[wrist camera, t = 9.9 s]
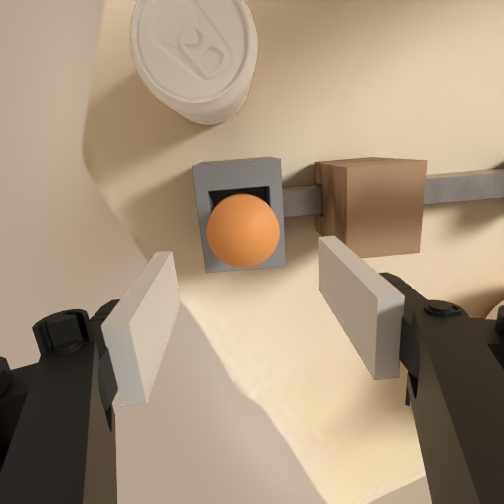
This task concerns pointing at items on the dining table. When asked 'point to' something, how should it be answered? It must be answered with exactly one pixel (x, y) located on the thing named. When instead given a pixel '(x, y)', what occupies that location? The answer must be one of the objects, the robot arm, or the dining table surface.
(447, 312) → the robot arm
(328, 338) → the dining table surface
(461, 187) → the rail
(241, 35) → the beverage can
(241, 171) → the housing
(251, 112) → the dining table surface
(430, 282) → the dining table surface
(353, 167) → the carriage
